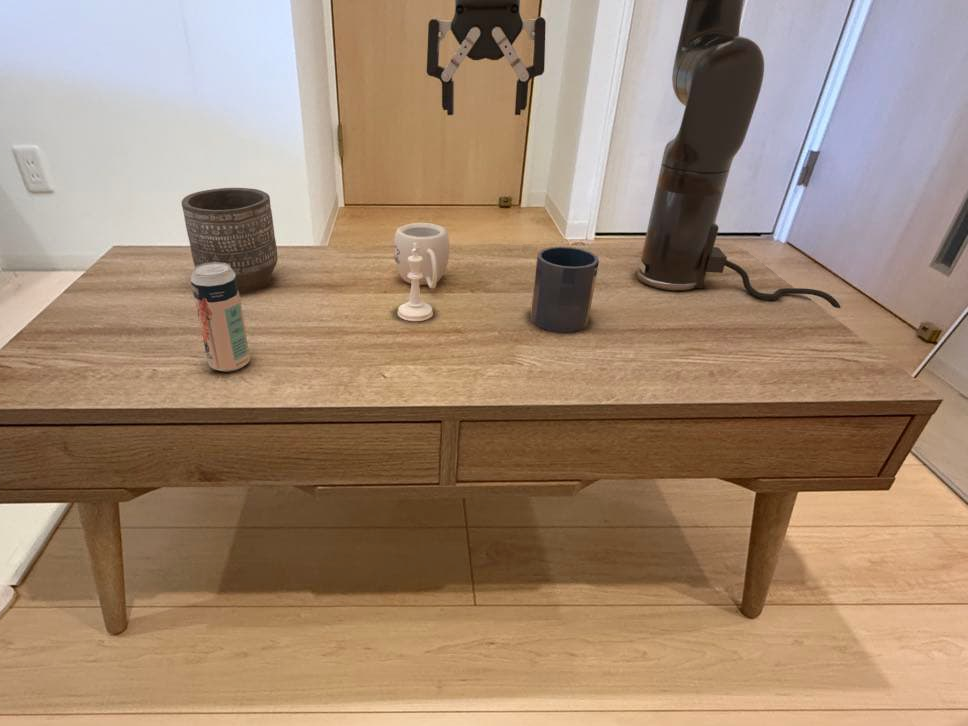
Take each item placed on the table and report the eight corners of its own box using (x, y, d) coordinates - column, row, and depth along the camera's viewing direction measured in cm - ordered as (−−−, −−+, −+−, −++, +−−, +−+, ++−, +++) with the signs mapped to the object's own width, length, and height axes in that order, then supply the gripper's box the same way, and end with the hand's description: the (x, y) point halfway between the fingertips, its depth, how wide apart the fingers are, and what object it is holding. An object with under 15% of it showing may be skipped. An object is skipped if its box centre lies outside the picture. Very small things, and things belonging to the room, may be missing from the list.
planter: (199, 272, 97) (182, 189, 90) (277, 265, 100) (266, 184, 93) (197, 303, 87) (178, 213, 80) (284, 294, 90) (272, 207, 83)
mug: (389, 271, 98) (387, 223, 94) (439, 267, 100) (440, 219, 96) (407, 301, 89) (406, 249, 84) (462, 295, 91) (465, 244, 86)
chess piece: (391, 317, 84) (390, 247, 79) (406, 303, 88) (405, 235, 82) (424, 324, 83) (425, 252, 77) (438, 309, 86) (439, 240, 81)
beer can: (214, 354, 75) (194, 261, 68) (253, 353, 75) (237, 260, 69) (205, 375, 71) (183, 277, 64) (247, 373, 71) (229, 276, 65)
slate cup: (584, 309, 87) (595, 248, 82) (590, 334, 81) (602, 269, 76) (529, 306, 88) (536, 245, 83) (531, 330, 81) (538, 266, 76)
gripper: (550, -43, 71) (538, 109, 80) (429, -41, 72) (431, 109, 82) (555, -47, 65) (541, 119, 74) (422, -44, 66) (425, 119, 75)
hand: (483, 114), depth 78 cm, fingers open, 8 cm apart
